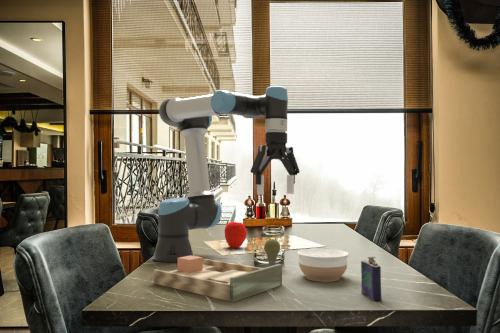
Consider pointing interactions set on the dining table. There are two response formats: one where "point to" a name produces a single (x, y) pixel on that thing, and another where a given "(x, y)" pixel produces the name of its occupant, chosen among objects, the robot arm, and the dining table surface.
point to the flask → (371, 279)
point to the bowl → (323, 264)
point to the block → (190, 264)
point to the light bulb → (272, 250)
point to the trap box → (223, 280)
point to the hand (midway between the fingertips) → (275, 194)
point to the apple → (235, 234)
